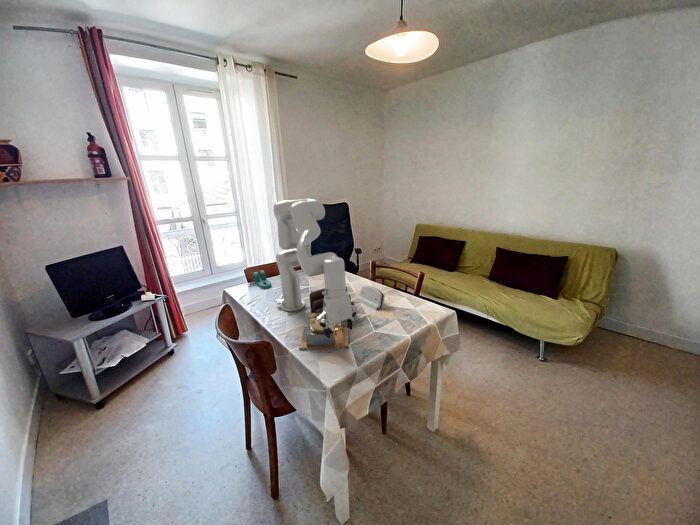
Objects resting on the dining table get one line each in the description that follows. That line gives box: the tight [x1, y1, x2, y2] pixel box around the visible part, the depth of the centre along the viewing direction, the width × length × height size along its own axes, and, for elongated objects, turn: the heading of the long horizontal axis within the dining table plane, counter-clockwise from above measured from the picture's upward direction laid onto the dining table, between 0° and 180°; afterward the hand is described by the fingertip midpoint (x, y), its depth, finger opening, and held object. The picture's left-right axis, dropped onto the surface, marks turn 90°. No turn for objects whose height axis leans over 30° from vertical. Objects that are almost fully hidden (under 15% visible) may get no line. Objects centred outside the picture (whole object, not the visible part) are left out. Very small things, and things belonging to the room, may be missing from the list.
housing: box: [298, 320, 350, 350], centre depth 119 cm, size 20×16×6 cm
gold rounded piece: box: [309, 312, 344, 350], centre depth 114 cm, size 21×12×8 cm, turn 30°
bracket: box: [252, 269, 272, 290], centre depth 183 cm, size 18×7×8 cm, turn 36°
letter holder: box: [308, 286, 355, 315], centre depth 136 cm, size 10×20×14 cm, turn 112°
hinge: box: [356, 285, 386, 311], centre depth 149 cm, size 17×5×10 cm, turn 37°
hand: (338, 332), depth 106 cm, fingers open, 9 cm apart
